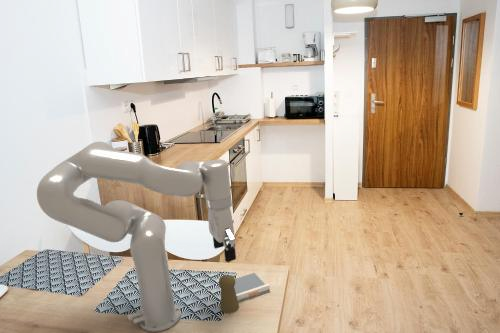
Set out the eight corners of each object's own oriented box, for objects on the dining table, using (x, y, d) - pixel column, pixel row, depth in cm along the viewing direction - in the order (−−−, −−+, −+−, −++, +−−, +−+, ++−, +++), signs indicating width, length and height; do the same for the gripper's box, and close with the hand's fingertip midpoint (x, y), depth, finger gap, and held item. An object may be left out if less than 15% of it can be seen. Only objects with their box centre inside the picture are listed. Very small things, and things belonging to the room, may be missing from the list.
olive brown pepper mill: (240, 301, 129) (237, 271, 126) (237, 313, 123) (234, 282, 120) (221, 301, 130) (218, 272, 127) (218, 313, 124) (215, 282, 121)
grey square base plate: (237, 303, 128) (236, 296, 128) (223, 284, 139) (223, 278, 138) (270, 292, 133) (269, 285, 132) (254, 275, 144) (254, 269, 143)
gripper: (197, 196, 123) (204, 245, 127) (217, 214, 107) (223, 269, 112) (220, 190, 125) (225, 239, 130) (242, 207, 110) (247, 262, 115)
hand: (224, 253), depth 121 cm, fingers open, 9 cm apart
